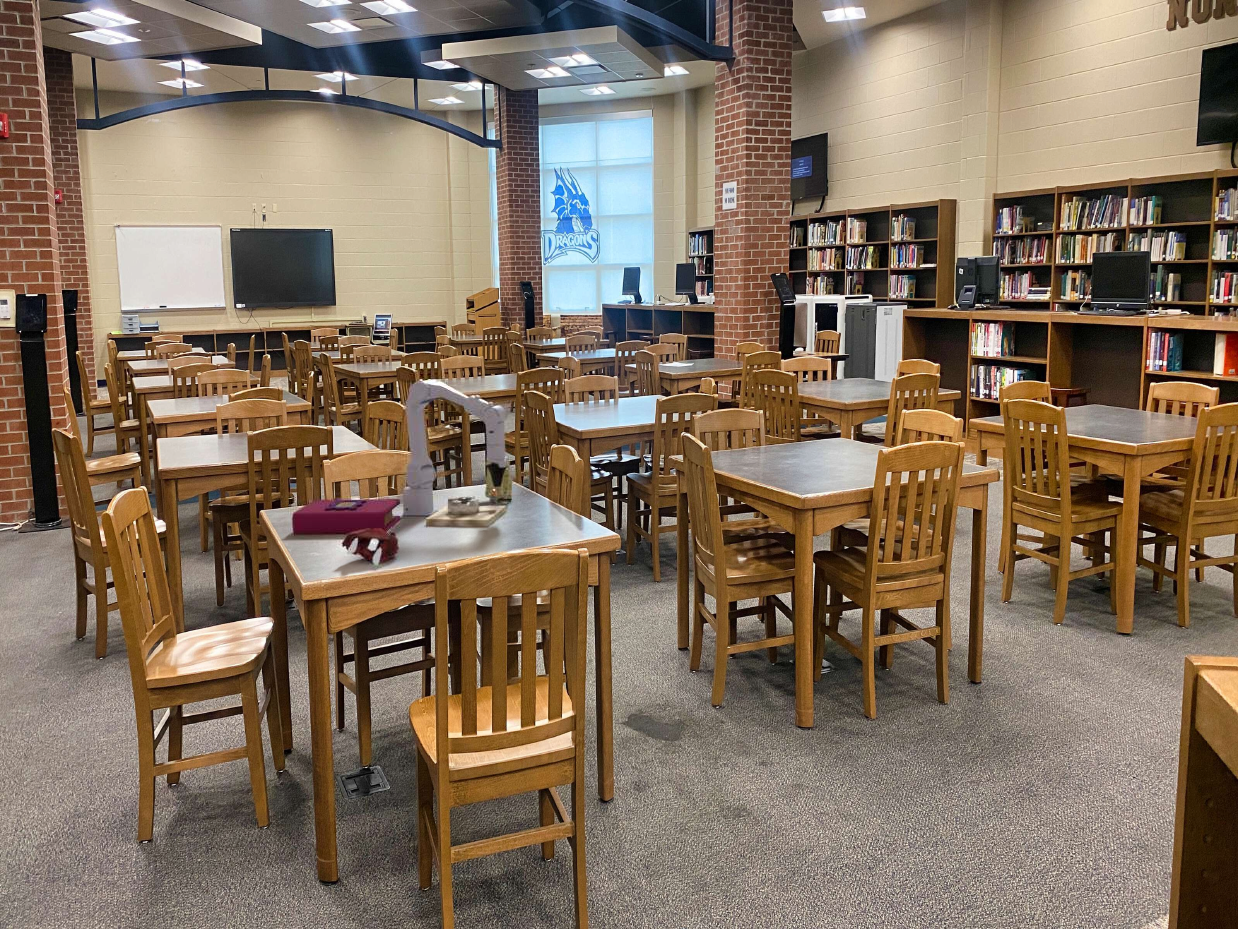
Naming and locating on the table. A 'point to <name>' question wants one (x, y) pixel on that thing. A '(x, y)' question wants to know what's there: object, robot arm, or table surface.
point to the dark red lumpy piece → (372, 544)
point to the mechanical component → (506, 486)
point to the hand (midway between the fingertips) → (497, 486)
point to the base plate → (467, 517)
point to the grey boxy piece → (469, 504)
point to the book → (344, 516)
